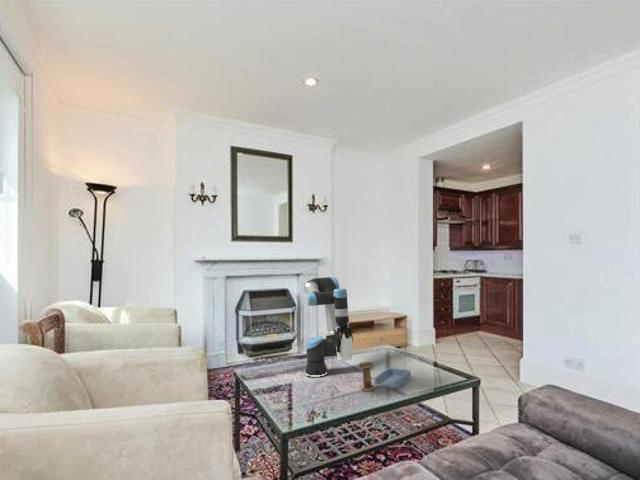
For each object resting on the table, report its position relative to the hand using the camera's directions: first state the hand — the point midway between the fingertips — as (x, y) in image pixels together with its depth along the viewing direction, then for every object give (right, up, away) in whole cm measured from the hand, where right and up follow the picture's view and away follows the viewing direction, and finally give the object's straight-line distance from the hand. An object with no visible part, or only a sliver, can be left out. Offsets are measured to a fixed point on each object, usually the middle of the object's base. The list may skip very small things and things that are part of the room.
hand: (344, 355), depth 196 cm
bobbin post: (+13, -20, +2) cm, 24 cm away
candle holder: (0, -2, 0) cm, 2 cm away
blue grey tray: (+30, -19, +11) cm, 37 cm away
